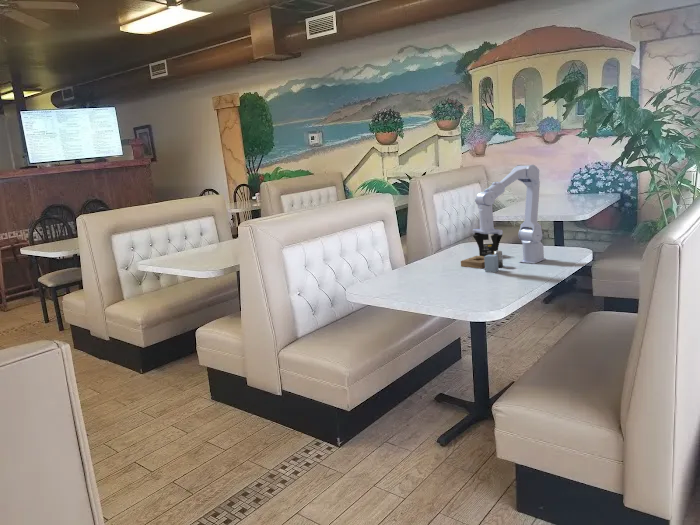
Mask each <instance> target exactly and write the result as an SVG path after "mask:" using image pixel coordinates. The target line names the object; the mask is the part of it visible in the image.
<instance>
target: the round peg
mask: <svg viewBox="0 0 700 525" xmlns="http://www.w3.org/2000/svg"><path fill="white" fill-rule="evenodd" d="M494 255H498V269H499V268H503V267H504V263H503V262H504V261H503V251H502V250H498V251H495V252H494Z"/></svg>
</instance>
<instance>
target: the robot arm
mask: <svg viewBox="0 0 700 525" xmlns="http://www.w3.org/2000/svg"><path fill="white" fill-rule="evenodd" d="M517 180H518V181H520V182H521V183H523V184H524V185H525V187H526V196H525V207H524V208H525V209H524V221H523V222H522V223H521V224H520V226H519V227H520V228H519V230H518V233H517V234H518V235H517V236H518V239H519V240H520V242H521V244H522V257H523V259H522V260H519V263H523V264H524V263H525V264H538V263H539V262H542V261H545V260H546V257H544V256H545V253H544V252H545V251H544V244H543V243H542V241H541V240H542V239H543V230H542V225H541V224H540V223H539V221H538V213H539V212H538V211H539V197H540V187H541V185H540V184H541V181H540V169H539V168H538V167H537V166H536V165H534V164H528V165H524V164H523V165H522V164H521V165H516V166H515V167H514V168H512V169H511V170H510V172H509V173H508V174H506V176H504V177H503V179H501V180H500V181H493V182H492V183H491V185H490V186H489V187H488V188H485V189H484V191H481V192H478V193H477V195H476V196H475V199H474V202H475V204H476V205H477V208H478V216H479V228H473V229H471V230H472V235H473V236H472V237H473V238H474V239H473V240H475V242H476V244H477V246H478V251H479V250H483V248H484V245H483V239H484V234H492V236H491V239H492V242H493V249H494V251H499V245H500V242H501V239H502V237H503V234H504V232H503V229H498V228H495V226H494V224H495V223H494V213H493V212H494V211H493V205H494V204H495V201H496V199H498V197H499V196H501V195H502V194H503V193H504V192H506V191H505V190H506V189H505V188H507V187H508V186H510V185H511V184H512V183H515V182H516V181H517Z"/></svg>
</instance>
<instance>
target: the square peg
mask: <svg viewBox="0 0 700 525" xmlns="http://www.w3.org/2000/svg"><path fill="white" fill-rule="evenodd" d="M484 261H485V268H484V271H485V272H484V273H496V272H498V271H499V268H498V255H486V256H485V257H484Z"/></svg>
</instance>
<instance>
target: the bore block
mask: <svg viewBox="0 0 700 525" xmlns="http://www.w3.org/2000/svg"><path fill="white" fill-rule="evenodd" d="M484 257H485V256H479V255H474V256H472V257H469V258H465V259H462V260H460V266H461V267H464V268H473V269H485V261H484Z"/></svg>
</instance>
